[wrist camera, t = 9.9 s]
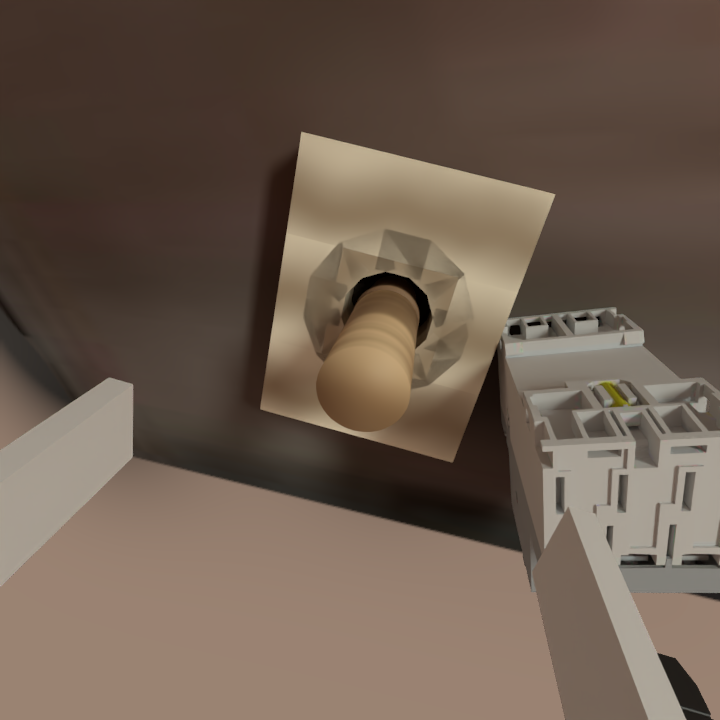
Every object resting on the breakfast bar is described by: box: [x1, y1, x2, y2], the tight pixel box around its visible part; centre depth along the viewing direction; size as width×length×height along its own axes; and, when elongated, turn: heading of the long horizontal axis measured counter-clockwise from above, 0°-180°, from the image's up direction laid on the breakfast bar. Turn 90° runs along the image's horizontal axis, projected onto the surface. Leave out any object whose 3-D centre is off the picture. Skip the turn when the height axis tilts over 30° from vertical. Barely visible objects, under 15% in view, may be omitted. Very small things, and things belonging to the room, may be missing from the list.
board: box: [260, 132, 555, 463], centre depth 30 cm, size 18×14×4 cm
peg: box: [316, 276, 420, 432], centre depth 26 cm, size 4×4×14 cm
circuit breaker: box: [497, 307, 720, 593], centre depth 26 cm, size 8×14×15 cm, turn 10°
